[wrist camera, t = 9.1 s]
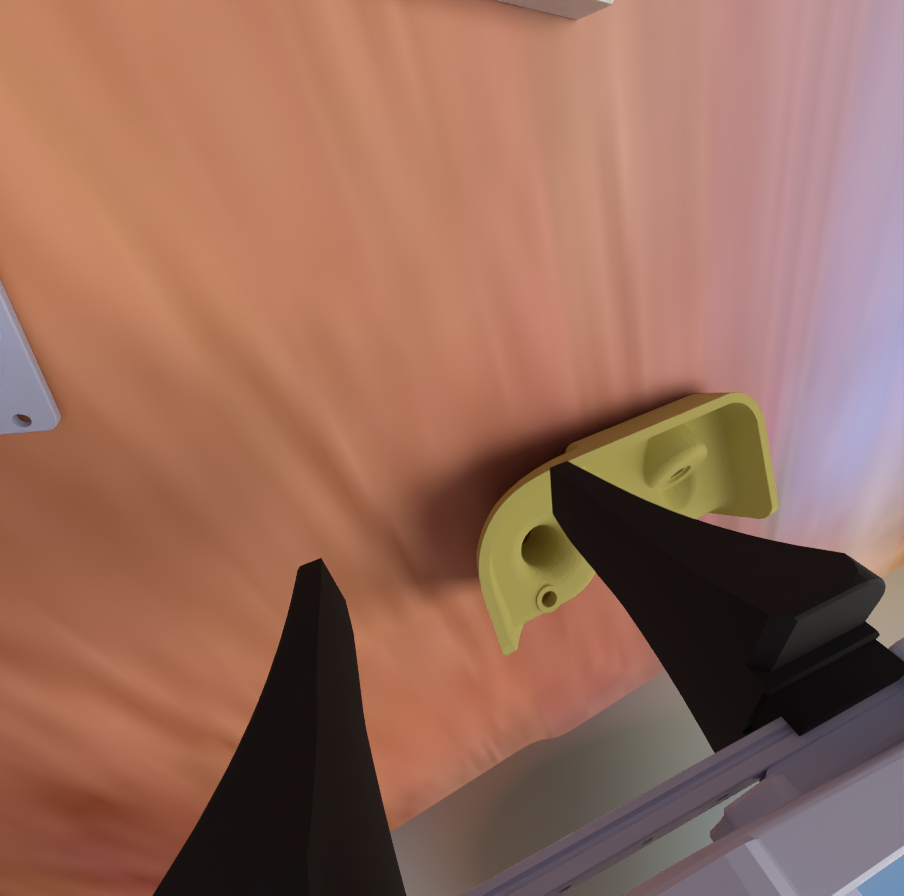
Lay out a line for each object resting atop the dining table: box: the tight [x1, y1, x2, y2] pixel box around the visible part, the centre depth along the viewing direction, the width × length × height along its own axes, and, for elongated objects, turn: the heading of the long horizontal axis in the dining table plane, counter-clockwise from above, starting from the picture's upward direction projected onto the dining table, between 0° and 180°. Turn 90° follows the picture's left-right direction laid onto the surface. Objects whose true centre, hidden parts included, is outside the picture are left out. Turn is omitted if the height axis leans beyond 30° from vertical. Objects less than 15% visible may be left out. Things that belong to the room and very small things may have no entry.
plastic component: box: [476, 392, 779, 656], centre depth 28 cm, size 20×7×10 cm
